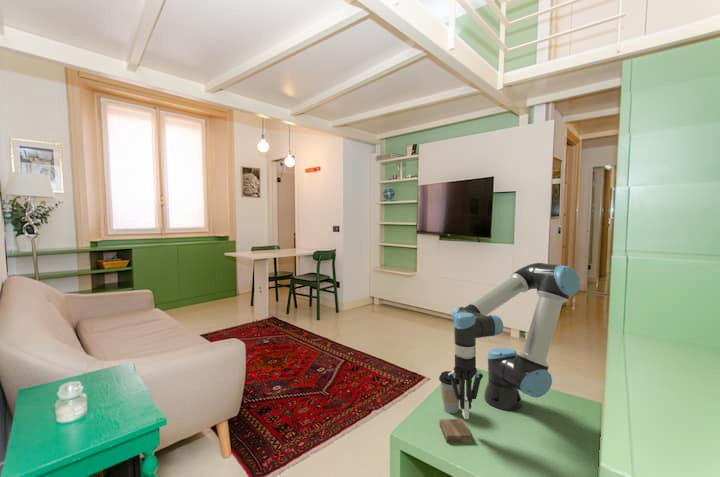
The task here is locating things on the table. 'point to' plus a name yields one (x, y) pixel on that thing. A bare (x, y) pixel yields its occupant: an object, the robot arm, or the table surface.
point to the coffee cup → (449, 393)
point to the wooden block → (455, 431)
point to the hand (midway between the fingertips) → (465, 416)
